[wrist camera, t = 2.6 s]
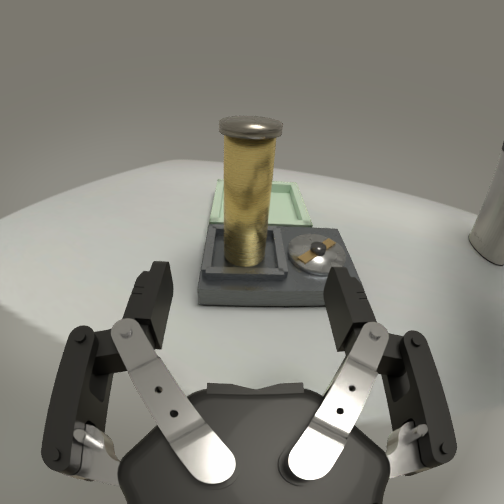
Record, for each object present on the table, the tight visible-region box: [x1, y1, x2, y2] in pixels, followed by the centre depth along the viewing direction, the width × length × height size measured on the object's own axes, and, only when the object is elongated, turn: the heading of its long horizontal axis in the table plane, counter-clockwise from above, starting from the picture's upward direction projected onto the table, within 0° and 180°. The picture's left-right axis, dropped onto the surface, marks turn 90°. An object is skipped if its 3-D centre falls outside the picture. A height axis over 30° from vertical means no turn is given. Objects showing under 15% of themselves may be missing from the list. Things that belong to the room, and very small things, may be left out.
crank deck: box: [198, 224, 364, 306], centre depth 28 cm, size 15×10×3 cm, turn 91°
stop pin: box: [219, 116, 283, 267], centre depth 23 cm, size 5×5×13 cm
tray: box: [209, 179, 313, 228], centre depth 37 cm, size 12×12×2 cm
